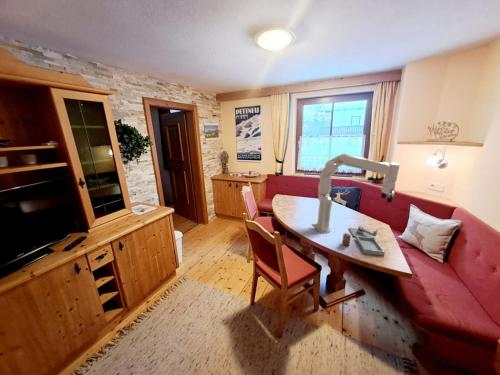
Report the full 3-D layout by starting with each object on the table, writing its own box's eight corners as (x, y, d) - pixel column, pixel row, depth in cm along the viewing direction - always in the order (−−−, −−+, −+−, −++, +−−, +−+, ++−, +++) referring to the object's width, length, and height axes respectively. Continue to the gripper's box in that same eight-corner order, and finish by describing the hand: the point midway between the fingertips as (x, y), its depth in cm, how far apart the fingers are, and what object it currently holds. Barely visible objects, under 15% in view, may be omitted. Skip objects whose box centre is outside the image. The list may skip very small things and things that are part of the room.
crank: (356, 229, 161) (357, 224, 160) (360, 228, 163) (361, 222, 162) (373, 237, 149) (375, 231, 147) (377, 235, 151) (378, 230, 150)
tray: (363, 253, 135) (364, 249, 134) (355, 239, 153) (356, 235, 152) (384, 255, 132) (385, 251, 132) (373, 241, 150) (374, 237, 149)
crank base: (353, 236, 156) (354, 233, 155) (348, 228, 169) (349, 225, 169) (372, 238, 153) (373, 235, 153) (366, 230, 167) (366, 227, 166)
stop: (343, 245, 144) (344, 236, 142) (341, 242, 149) (342, 233, 147) (350, 246, 143) (351, 237, 141) (348, 242, 148) (349, 233, 146)
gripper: (379, 176, 155) (376, 196, 159) (390, 181, 138) (386, 203, 143) (390, 176, 153) (386, 197, 158) (402, 182, 137) (397, 204, 142)
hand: (386, 200), depth 151 cm, fingers open, 9 cm apart
